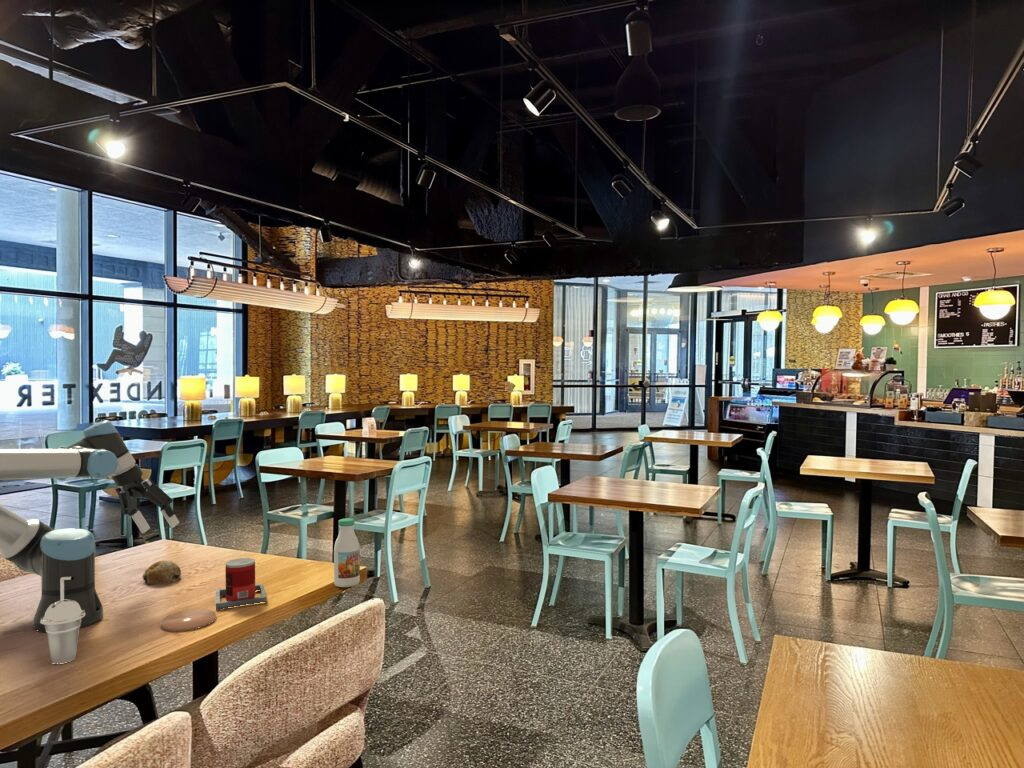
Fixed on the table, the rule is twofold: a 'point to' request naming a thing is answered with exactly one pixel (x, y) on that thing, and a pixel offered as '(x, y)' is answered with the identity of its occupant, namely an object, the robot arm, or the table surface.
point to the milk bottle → (346, 555)
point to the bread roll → (162, 573)
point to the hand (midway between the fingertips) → (160, 528)
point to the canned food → (240, 579)
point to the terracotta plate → (187, 620)
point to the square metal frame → (242, 601)
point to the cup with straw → (63, 626)
